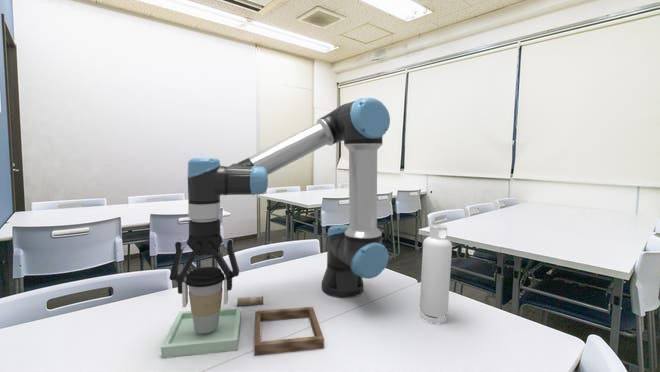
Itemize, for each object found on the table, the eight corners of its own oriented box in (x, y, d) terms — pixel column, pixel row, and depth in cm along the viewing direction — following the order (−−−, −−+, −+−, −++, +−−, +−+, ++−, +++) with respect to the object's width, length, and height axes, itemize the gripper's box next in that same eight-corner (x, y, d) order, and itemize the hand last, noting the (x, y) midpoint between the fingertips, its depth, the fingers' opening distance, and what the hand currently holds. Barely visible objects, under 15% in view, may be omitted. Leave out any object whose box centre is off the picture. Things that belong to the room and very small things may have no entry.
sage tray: (241, 315, 94) (241, 306, 94) (237, 350, 78) (237, 340, 77) (179, 320, 90) (179, 311, 90) (161, 357, 74) (161, 347, 74)
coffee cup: (212, 339, 78) (211, 281, 77) (178, 334, 80) (177, 277, 79) (231, 320, 87) (231, 267, 86) (200, 316, 89) (200, 264, 88)
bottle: (436, 309, 101) (441, 222, 98) (453, 322, 93) (459, 228, 91) (413, 312, 99) (418, 223, 96) (429, 325, 91) (434, 229, 88)
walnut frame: (312, 314, 96) (312, 306, 95) (323, 348, 79) (323, 338, 79) (255, 319, 92) (255, 311, 92) (254, 355, 76) (254, 345, 75)
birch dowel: (263, 299, 101) (263, 305, 101) (263, 294, 103) (263, 301, 103) (237, 300, 99) (237, 307, 99) (237, 296, 101) (237, 303, 102)
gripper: (249, 215, 87) (249, 294, 89) (161, 216, 82) (164, 300, 84) (248, 221, 80) (248, 306, 82) (152, 223, 75) (155, 314, 77)
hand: (206, 303), depth 83 cm, fingers closed on coffee cup, 9 cm apart
